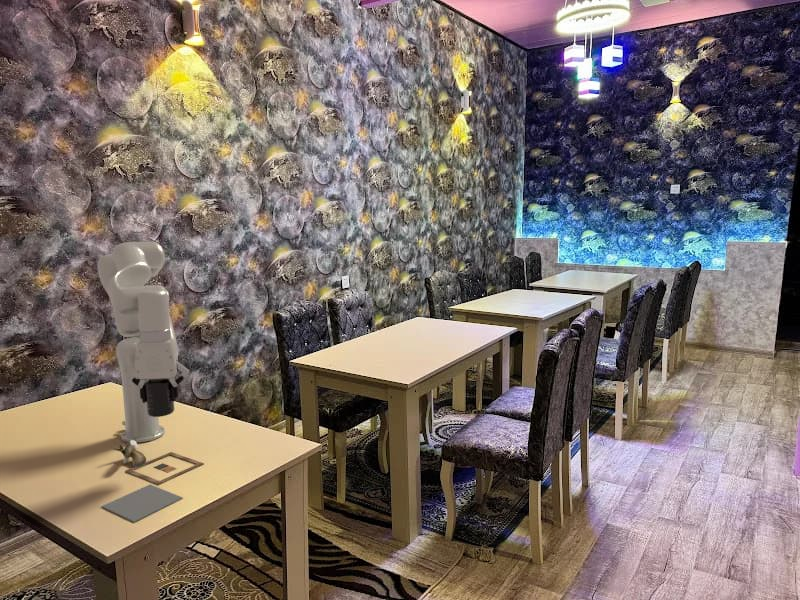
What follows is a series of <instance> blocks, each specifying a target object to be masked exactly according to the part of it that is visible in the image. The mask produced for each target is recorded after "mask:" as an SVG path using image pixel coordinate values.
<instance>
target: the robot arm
mask: <svg viewBox="0 0 800 600" xmlns="http://www.w3.org/2000/svg"><path fill="white" fill-rule="evenodd" d="M165 262H166V259H165V251H164V249H163V247H162V245H161V244H159V243H158V242H157V241H129V242H128V241H127V242H122V243H121V242H120V243H119V244H117V245H116V246H114V247H113V249H112V252H111V253H108V254H105V255H102V256H100V258H99V259H98V260H97V273H98V278H99V281H100V283H101V286H102V287H103V289H104V291H105V292H106V294H107V295H108V297H109V301H110V303H111V307H112V312H113V316H114V322H115V325H116V330H117V332H118V333H119V335H121V336H122V337H124V338H125V337H127V338H125V339H122V340H121V341H119V342H118V344H117V345H116V347H115V349H116V350H115V352H116V353H115V354H116V359H117V362H118V366H119V369H120V377H121V383H122V385H121V386H122V395H123V408H124V419H125V420H122V422H121V425H122V426H123V427H124V428H125V429H124V431H123V432H121V434H120V440H122V441H123V442H126V443H127V442H129V441H130V440H134V441H136V443H137V444H138V443H146V442H149V441H154V440H156V439H158V438H160V437H163V435H164V434H165V431H166V430H165V427H164V426H162V425H160V420H159V418H160V417H152V416H149V415H148V413H147V403H146V392H145V384H146V382H147V381H148V380H156V379H169V380H170V382H171V384H172V387H171V399H172V401H174V402H176V400H177V399H178V398H179V395H180V393H179V392H180V391H179V384H180V383H182V382H183V380H184V379H185V378H186V377H187V376H188V375H189V373H190V370H189V369H188V368H187V367H186V366H184V365H183V364H182V363H180V362H179V359H178V357H179V345H178V341H177V337H176V332H175V329H174V325H173V321H172V317H171V313H170V294H169V290H167V288H166V287H165V286H163V285H161V284H159V285H158V284H153V285H152V284H151V285H150V284H149V285H146V284H147V283H148V282H149V281H150V279H151V278H153V277H155V276H157V275H158V274H159V273H160V271H161V270H162V268H163V267H164V264H165ZM179 371H180V372H181V374H180V375H179V377H178V376H177V374H179Z"/></svg>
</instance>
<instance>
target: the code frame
mask: <svg viewBox="0 0 800 600" xmlns="http://www.w3.org/2000/svg"><path fill="white" fill-rule="evenodd" d="M171 456H172V457H174V458H176V459H180V460H182V461H186V462H188V463H191V464H194V465H192V466H190V467H188V468H185V469H183V470H181V471H178V472H177V473H174V474H172V475H170V476H168V477H166V478H165V477H164V478H163V479H161V480H159V479H156V478H153V477H150V476H148V475H145V474H143V473H141V472H137V471H135V470H138V469H141V468H143V467H145V466H147V465H150V464H153V463H156V462H158V461H159V460H162V459H165V458H167V457H171ZM203 464H204V465H205V463H204V462H202V461H199V460H196V459H193V458H189V457H187V456H183V455H181V454H178V453H174V452H172V451H170V452H167V453H164V454H163V455H159V456H157V457H156V458H154V459H150V460H149V461H146V462H145V463H144V464H143V465H142V466H139V467H137V466H136V467H135V466H132V467H131V468H128V469H125V470H124V471H125V473H127V472H128V473H127V474H130V475H132V474H133V476H135V477H137V476H138V478H140V477H141V478H140V479H142V478H143V479H142V480H145V481H147V480H148V481H147V482H150V481H151V482H150V483H152V482H153V484H155V485H157V486H160V485H161V484H164V483H166V482H168V481H171V480H173V479H175V478H177V477H179V476H181V475H184V474H186V473H187V472H191V471H192V470H194V469H196V468H199V467H202V466H204V465H203ZM153 468H154V469H157V470H161V471H162V472H165V473H170V472H172V471H175V470H177V467H174V466H171V465H168V464H166V463H164V462H162V463H160V464H158V465H155V466H153ZM133 470H134V471H133Z"/></svg>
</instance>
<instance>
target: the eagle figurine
mask: <svg viewBox="0 0 800 600" xmlns="http://www.w3.org/2000/svg"><path fill="white" fill-rule="evenodd" d="M118 447H119V448H118ZM118 447H115V446H113V445H112V446H111V448H112V449H113V450H115V451H117V452H120V453H121V454H122V455H123V460H122V461H123V463H122V465H125V464H126V463H127V462H128V460H129V458H131V460H132V467H136V466H137V467H139V466H142V465H143V464H144V463H145V462H147V458H146V456H145V455H144V453H143V452H141V451H139V450H137V449H139V445H138V443H136V441H134V440H130V441H129V442H126V443H125V447H123V446H122V444H120V445H119V446H118Z"/></svg>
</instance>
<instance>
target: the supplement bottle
mask: <svg viewBox="0 0 800 600" xmlns="http://www.w3.org/2000/svg"><path fill="white" fill-rule="evenodd" d="M171 387H172V384H171V382H170V380H169V379H156V380H148V381H147V382H146V384H145V392H146V403H147V413H148V415H149V416H152V417H158V418H162V417H165V416H169V415H172V414H173V413H174V411H175V401H172V399H171Z"/></svg>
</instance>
